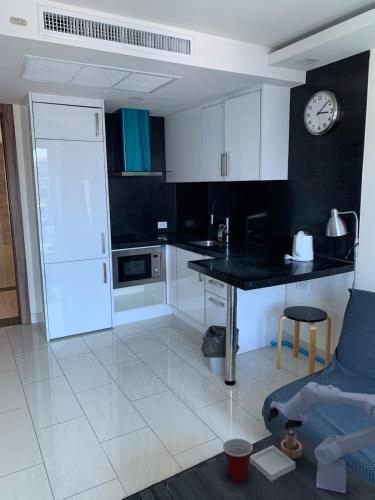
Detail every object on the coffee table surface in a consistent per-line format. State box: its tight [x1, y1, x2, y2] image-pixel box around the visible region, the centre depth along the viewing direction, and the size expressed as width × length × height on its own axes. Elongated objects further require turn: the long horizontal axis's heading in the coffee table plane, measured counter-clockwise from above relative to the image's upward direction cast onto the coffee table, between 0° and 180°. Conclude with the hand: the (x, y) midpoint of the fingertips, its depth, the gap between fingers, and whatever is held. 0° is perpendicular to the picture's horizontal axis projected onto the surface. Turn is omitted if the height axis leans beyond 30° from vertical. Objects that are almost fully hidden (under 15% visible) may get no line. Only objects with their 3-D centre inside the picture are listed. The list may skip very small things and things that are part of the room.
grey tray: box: [249, 444, 296, 482], centre depth 143 cm, size 12×12×2 cm
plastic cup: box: [222, 438, 254, 483], centre depth 138 cm, size 11×11×12 cm
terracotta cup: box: [280, 438, 303, 459], centre depth 150 cm, size 8×8×3 cm
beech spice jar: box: [285, 427, 297, 450], centre depth 150 cm, size 4×4×9 cm
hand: (277, 422), depth 146 cm, fingers open, 7 cm apart
